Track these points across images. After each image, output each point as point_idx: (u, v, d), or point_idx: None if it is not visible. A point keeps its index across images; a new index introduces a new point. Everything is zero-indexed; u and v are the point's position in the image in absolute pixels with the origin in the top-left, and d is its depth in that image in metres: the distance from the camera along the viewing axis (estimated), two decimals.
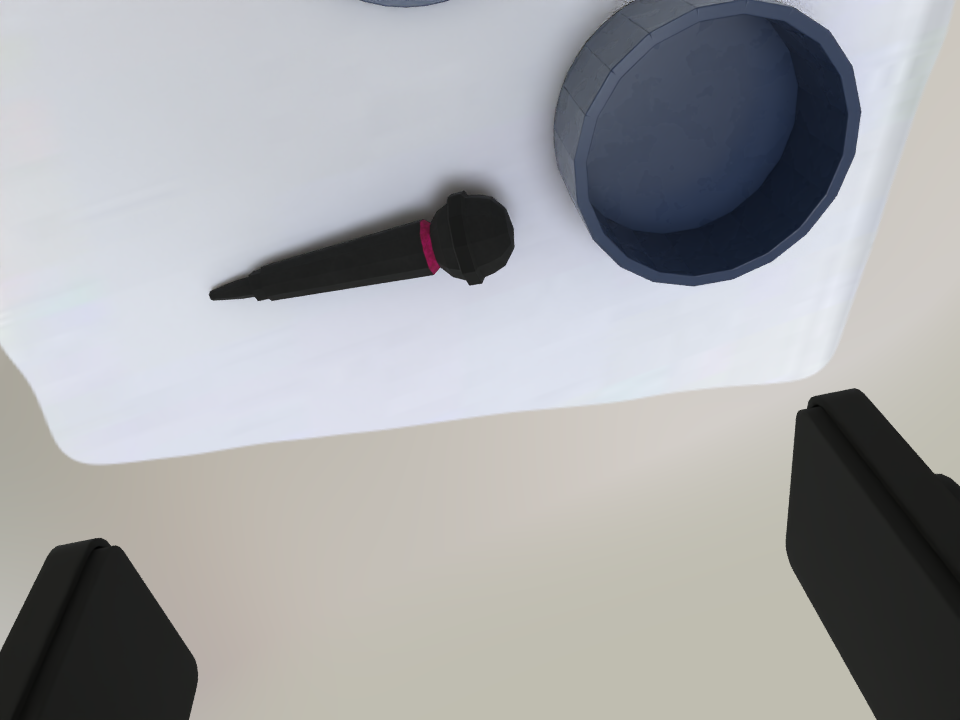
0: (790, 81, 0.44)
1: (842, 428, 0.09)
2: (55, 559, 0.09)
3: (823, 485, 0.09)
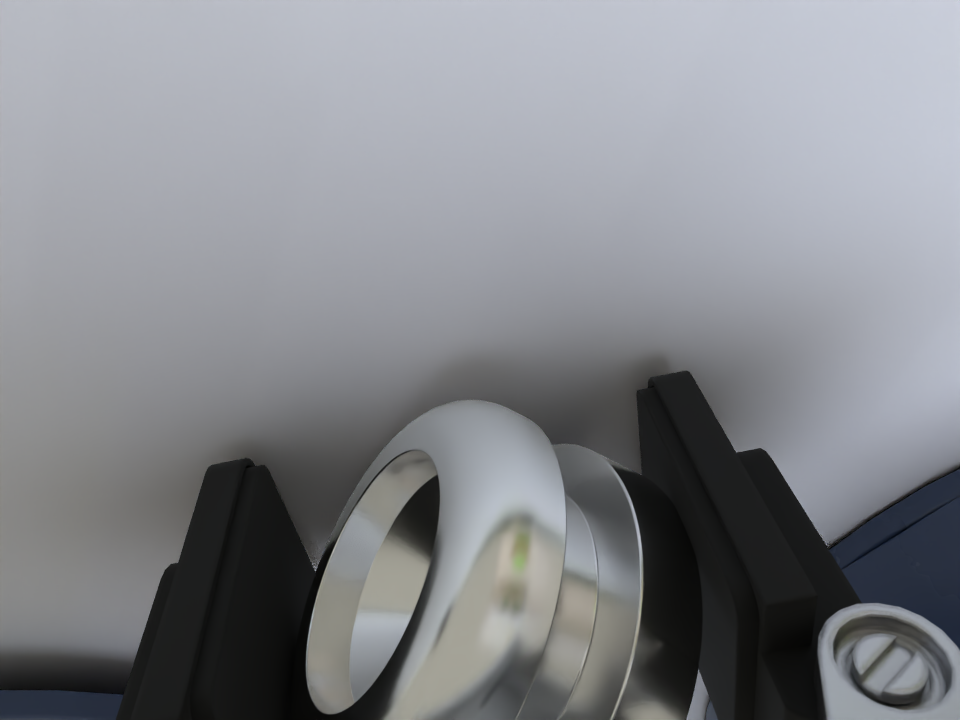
0: None
1: (665, 406, 0.10)
2: (213, 475, 0.10)
3: (654, 458, 0.10)
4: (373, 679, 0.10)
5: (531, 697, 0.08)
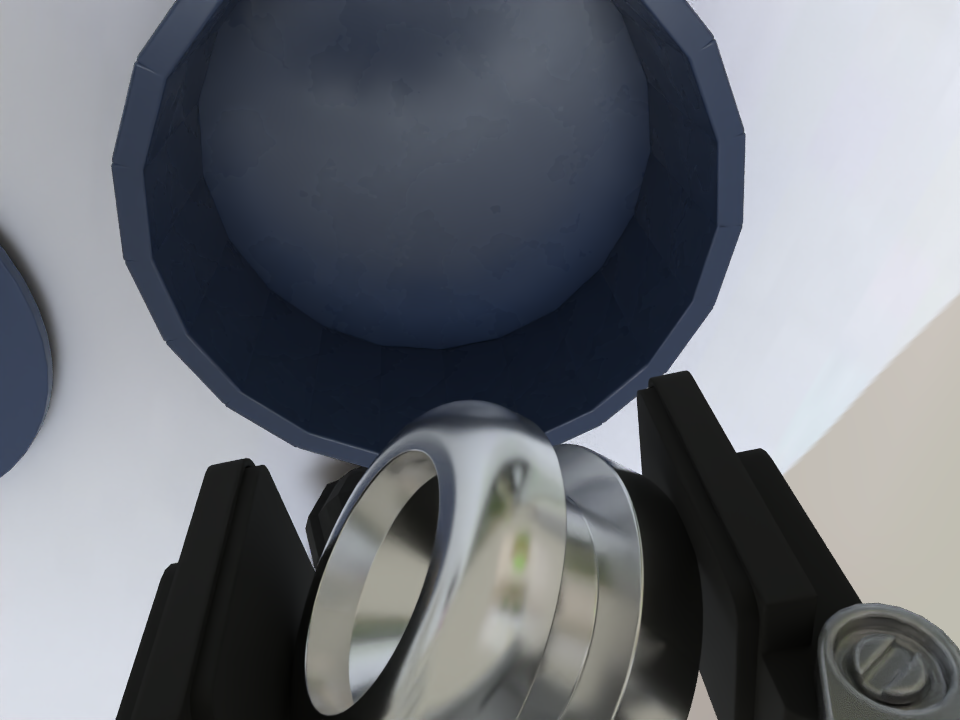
0: None
1: (665, 405, 0.10)
2: (213, 475, 0.10)
3: (654, 458, 0.10)
4: (372, 680, 0.09)
5: (531, 698, 0.08)
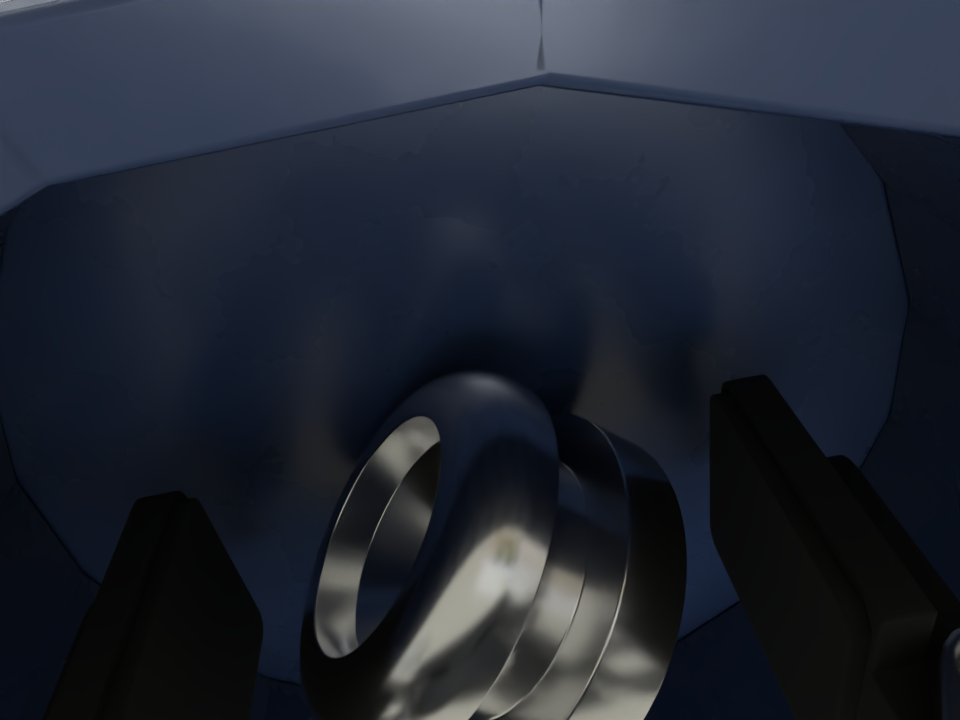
0: None
1: (746, 411, 0.09)
2: (139, 509, 0.10)
3: (731, 465, 0.10)
4: None
5: (525, 641, 0.08)
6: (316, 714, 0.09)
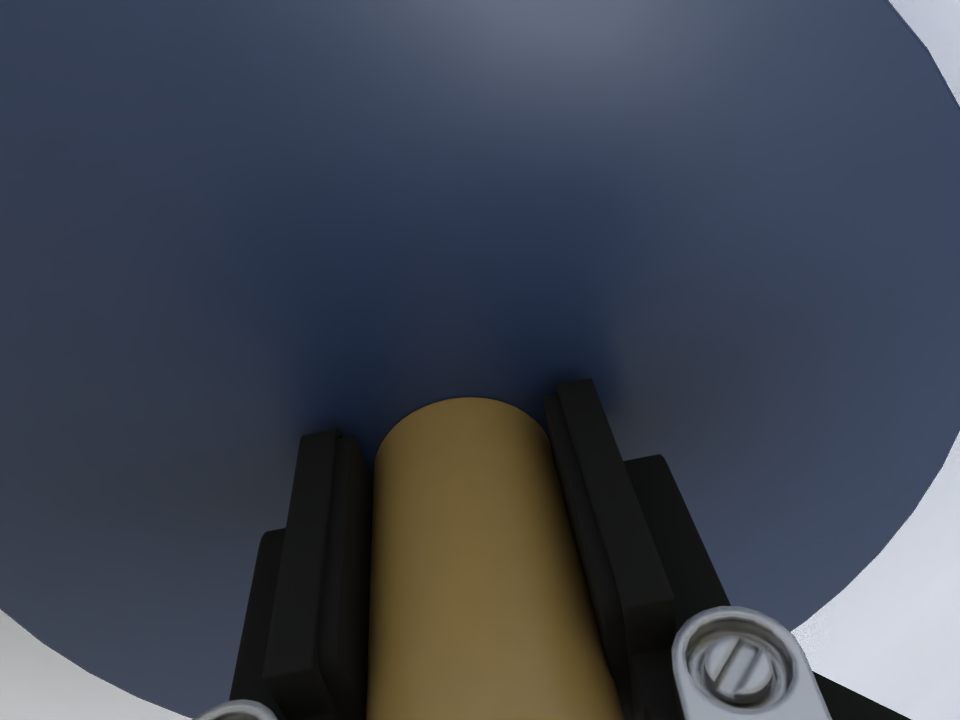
0: None
1: (565, 413, 0.10)
2: (307, 444, 0.10)
3: (557, 464, 0.10)
4: None
5: None
6: None
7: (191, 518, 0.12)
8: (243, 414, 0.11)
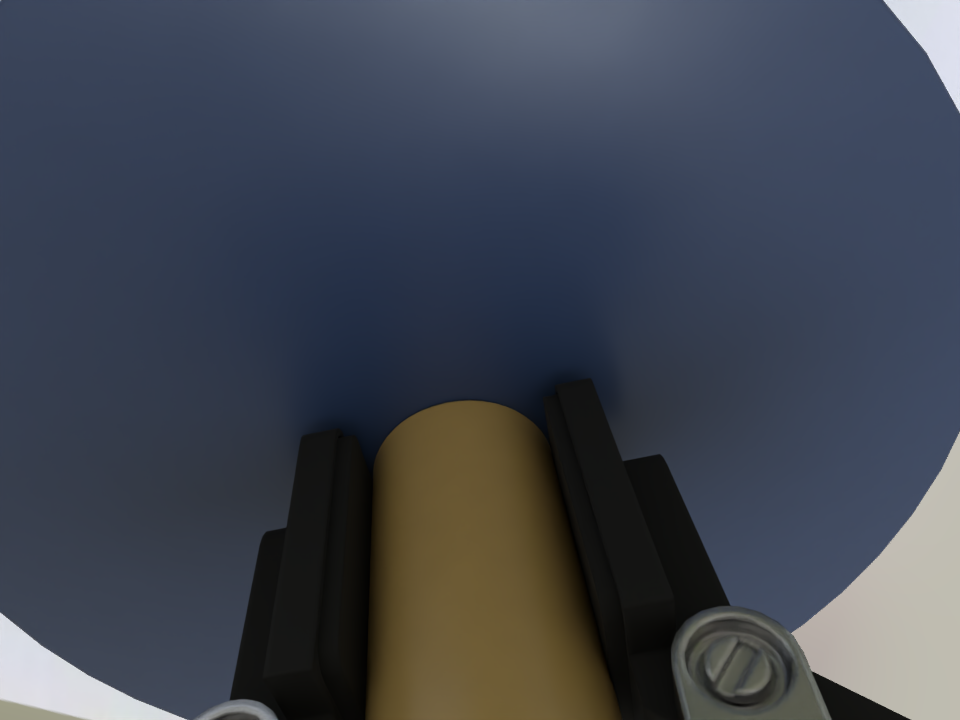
0: None
1: (564, 412, 0.10)
2: (308, 444, 0.10)
3: (556, 464, 0.10)
4: None
5: None
6: None
7: (190, 521, 0.12)
8: (242, 417, 0.11)
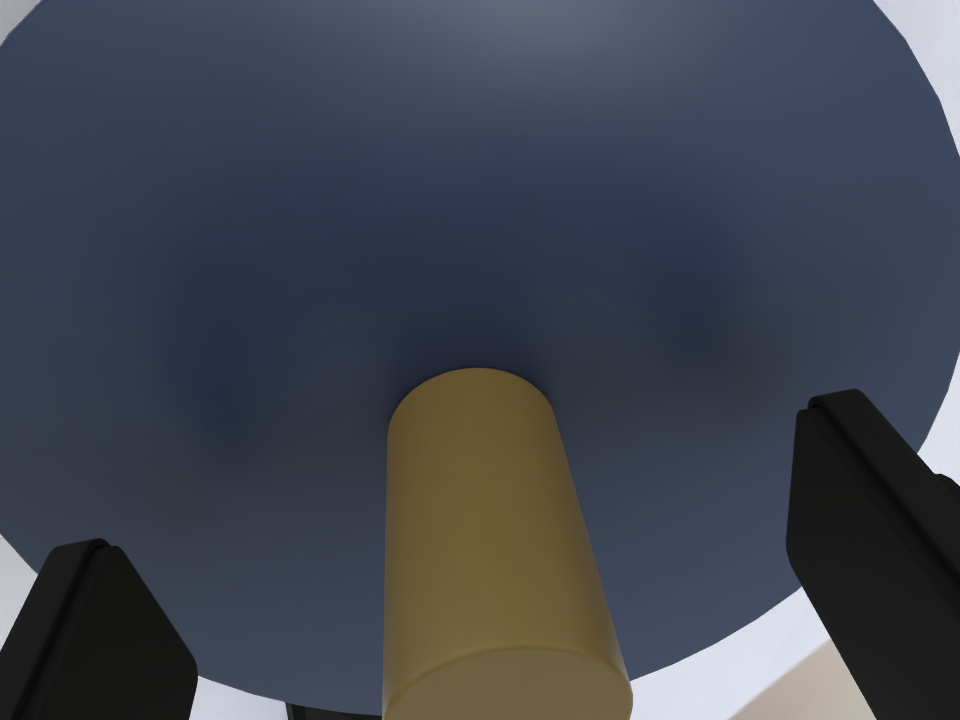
0: None
1: (842, 428, 0.09)
2: (55, 559, 0.09)
3: (823, 485, 0.09)
4: None
5: None
6: None
7: (215, 483, 0.12)
8: (265, 382, 0.11)
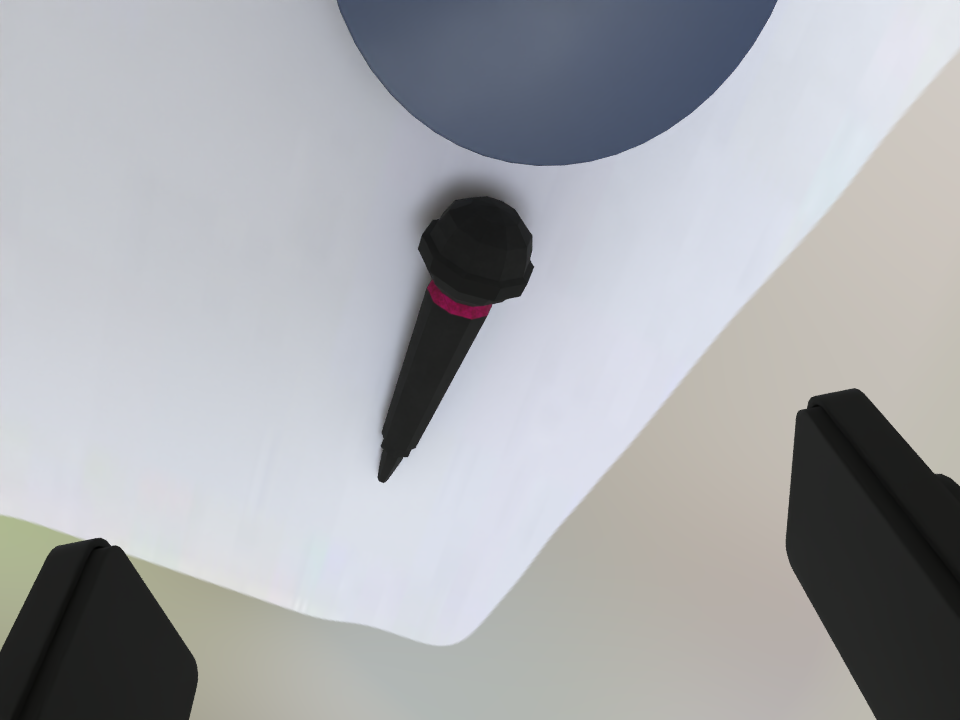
0: None
1: (842, 428, 0.09)
2: (54, 559, 0.09)
3: (823, 485, 0.09)
4: None
5: None
6: None
7: None
8: None
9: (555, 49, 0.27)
